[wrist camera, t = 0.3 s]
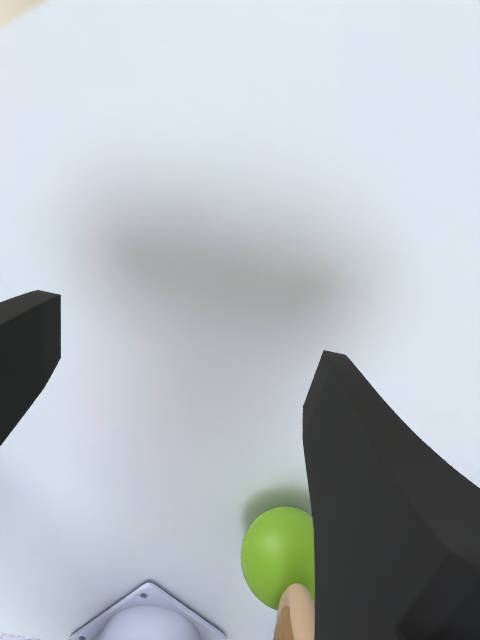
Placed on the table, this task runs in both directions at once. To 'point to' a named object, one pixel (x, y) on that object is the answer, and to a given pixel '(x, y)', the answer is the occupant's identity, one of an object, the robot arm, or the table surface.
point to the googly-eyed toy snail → (283, 569)
